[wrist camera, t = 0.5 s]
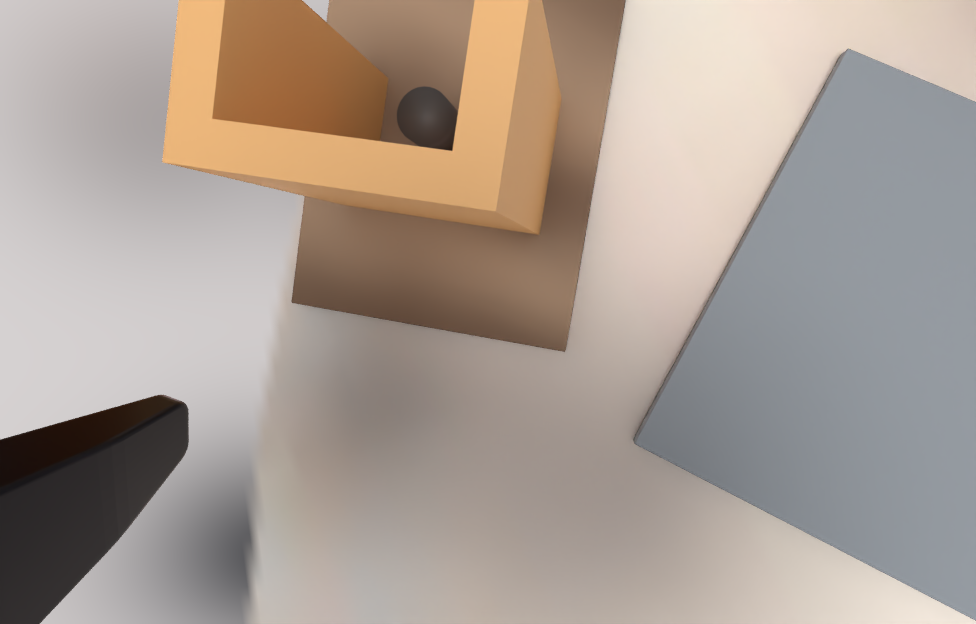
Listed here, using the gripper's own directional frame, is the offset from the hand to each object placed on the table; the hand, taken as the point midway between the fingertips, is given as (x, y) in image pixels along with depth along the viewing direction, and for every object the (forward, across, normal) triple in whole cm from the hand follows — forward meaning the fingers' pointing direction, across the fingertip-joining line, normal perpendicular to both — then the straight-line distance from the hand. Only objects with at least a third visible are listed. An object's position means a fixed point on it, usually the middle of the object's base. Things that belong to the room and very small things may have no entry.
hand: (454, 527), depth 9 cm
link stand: (+15, +5, -1) cm, 16 cm away
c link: (+14, +5, -1) cm, 15 cm away
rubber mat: (+14, -11, 0) cm, 18 cm away
